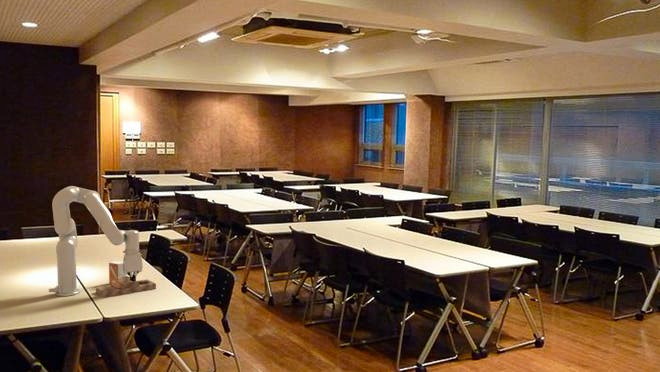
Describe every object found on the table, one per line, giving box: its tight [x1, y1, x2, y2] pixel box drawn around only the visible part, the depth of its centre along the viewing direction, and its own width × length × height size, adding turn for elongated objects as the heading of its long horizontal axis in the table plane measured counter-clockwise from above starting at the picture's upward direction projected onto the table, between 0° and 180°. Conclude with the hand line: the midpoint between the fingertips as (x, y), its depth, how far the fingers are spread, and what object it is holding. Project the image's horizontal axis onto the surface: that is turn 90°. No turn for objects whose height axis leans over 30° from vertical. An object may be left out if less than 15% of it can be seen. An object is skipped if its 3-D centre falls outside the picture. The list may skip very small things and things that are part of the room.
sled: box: [111, 280, 132, 288], centre depth 324 cm, size 9×9×2 cm
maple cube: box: [118, 275, 130, 283], centre depth 324 cm, size 5×5×5 cm
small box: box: [108, 260, 127, 285], centre depth 341 cm, size 8×6×13 cm
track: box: [95, 279, 157, 298], centre depth 325 cm, size 30×13×6 cm, turn 130°
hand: (132, 282), depth 328 cm, fingers closed
